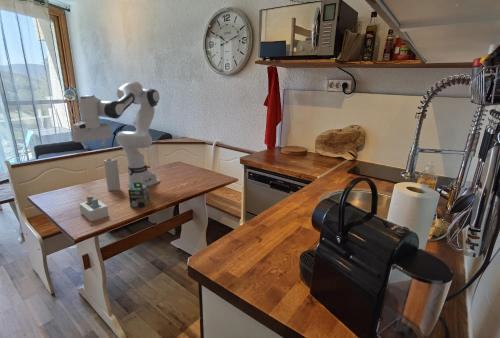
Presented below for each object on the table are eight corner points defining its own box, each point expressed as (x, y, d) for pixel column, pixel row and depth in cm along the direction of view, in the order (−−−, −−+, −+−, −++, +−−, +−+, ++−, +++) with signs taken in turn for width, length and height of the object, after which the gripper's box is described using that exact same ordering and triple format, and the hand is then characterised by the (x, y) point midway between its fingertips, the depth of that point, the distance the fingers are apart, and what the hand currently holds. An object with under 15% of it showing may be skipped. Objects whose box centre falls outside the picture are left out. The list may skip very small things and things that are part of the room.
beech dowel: (93, 211, 153) (91, 195, 150) (96, 212, 151) (93, 196, 148) (88, 212, 151) (85, 196, 148) (90, 214, 149) (87, 198, 146)
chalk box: (150, 201, 168) (148, 179, 164) (145, 207, 160) (143, 184, 155) (135, 201, 168) (133, 179, 163) (129, 207, 159) (127, 184, 155)
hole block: (97, 208, 157) (96, 198, 155) (108, 215, 148) (107, 205, 147) (80, 213, 150) (79, 203, 148) (91, 221, 142) (89, 211, 140)
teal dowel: (98, 214, 149) (96, 198, 146) (101, 216, 148) (98, 199, 145) (93, 216, 147) (90, 199, 144) (95, 218, 145) (92, 201, 142)
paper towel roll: (105, 189, 183) (101, 160, 177) (113, 187, 188) (110, 158, 182) (112, 192, 180) (108, 161, 174) (120, 189, 185) (117, 159, 179)
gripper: (107, 122, 162) (110, 144, 166) (69, 124, 147) (73, 149, 151) (112, 123, 158) (114, 145, 163) (73, 126, 143) (77, 151, 147)
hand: (94, 147), depth 157 cm, fingers open, 8 cm apart
